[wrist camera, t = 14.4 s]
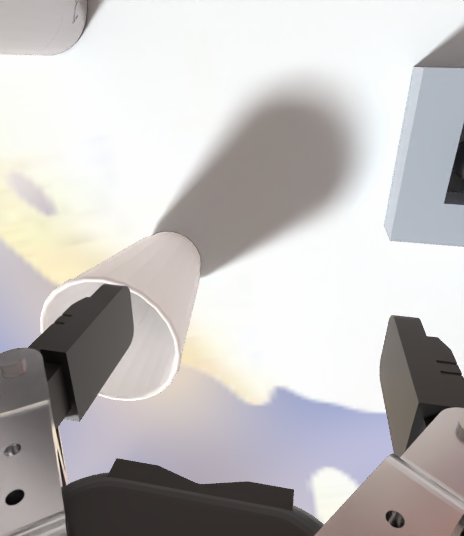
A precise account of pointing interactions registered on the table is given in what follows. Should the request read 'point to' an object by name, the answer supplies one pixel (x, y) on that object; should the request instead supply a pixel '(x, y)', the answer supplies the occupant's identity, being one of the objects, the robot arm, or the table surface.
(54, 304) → the cup
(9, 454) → the robot arm
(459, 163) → the plug
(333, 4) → the table surface
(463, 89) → the socket
